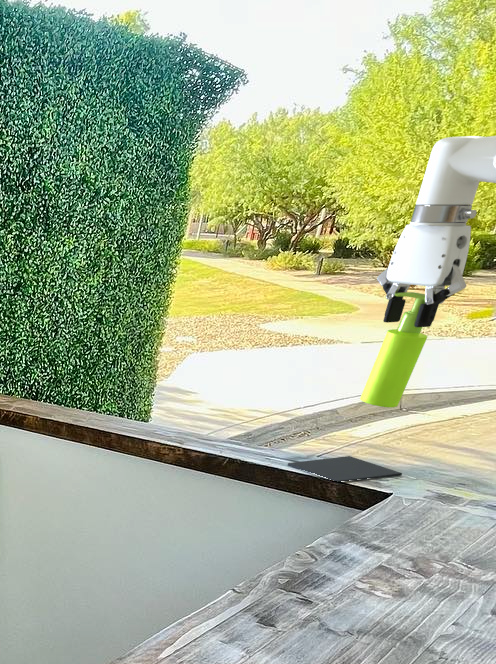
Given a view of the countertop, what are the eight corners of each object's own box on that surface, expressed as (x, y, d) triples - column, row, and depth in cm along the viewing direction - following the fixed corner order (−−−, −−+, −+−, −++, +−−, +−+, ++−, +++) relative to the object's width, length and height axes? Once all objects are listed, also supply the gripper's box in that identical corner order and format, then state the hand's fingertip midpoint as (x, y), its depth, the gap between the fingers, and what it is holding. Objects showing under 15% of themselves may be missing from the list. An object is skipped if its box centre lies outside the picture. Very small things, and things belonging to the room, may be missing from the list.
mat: (348, 458, 159) (349, 455, 158) (401, 475, 149) (402, 473, 149) (287, 465, 155) (288, 462, 155) (337, 483, 145) (338, 480, 145)
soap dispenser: (359, 393, 148) (401, 288, 139) (401, 403, 144) (448, 295, 134) (349, 399, 145) (392, 292, 136) (392, 409, 140) (439, 299, 131)
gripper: (511, 217, 124) (472, 330, 131) (406, 215, 139) (376, 316, 146) (477, 218, 122) (439, 333, 129) (375, 215, 137) (346, 318, 144)
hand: (406, 323), depth 138 cm, fingers closed on soap dispenser, 4 cm apart
